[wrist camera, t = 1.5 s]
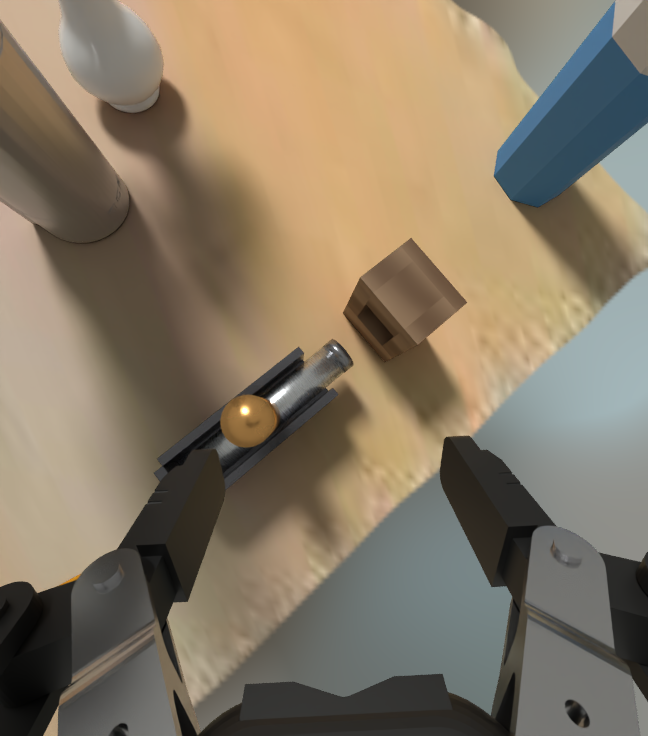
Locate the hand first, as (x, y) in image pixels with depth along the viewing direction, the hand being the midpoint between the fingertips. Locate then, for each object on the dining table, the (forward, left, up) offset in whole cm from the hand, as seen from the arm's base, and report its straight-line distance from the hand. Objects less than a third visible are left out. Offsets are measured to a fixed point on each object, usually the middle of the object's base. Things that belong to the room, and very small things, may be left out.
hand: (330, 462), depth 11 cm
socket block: (+7, +12, -20) cm, 25 cm away
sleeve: (-5, 0, -20) cm, 21 cm away
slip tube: (-3, +2, -17) cm, 18 cm away
